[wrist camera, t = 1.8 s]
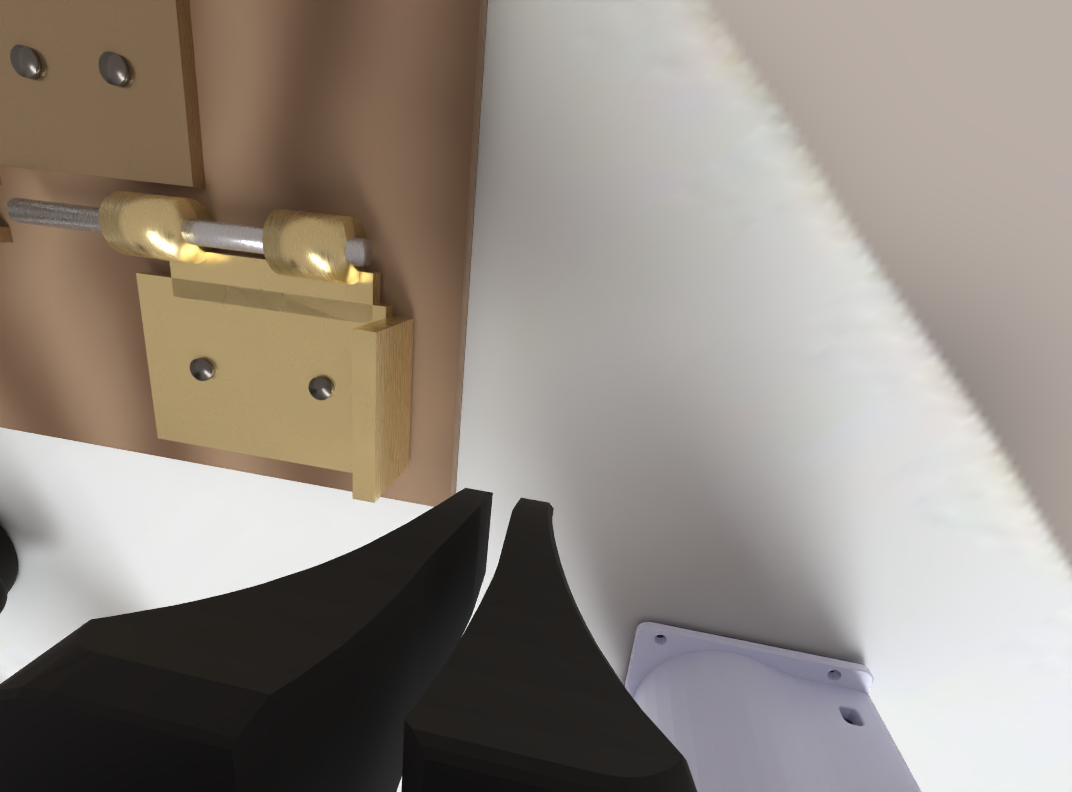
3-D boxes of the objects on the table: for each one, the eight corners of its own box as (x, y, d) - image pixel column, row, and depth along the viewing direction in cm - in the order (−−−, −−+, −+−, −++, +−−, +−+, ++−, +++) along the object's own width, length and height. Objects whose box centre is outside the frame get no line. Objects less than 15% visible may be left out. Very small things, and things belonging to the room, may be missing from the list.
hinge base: (-49, 234, 21) (-145, 233, 18) (-117, -57, 18) (-245, -108, 15) (212, 268, 20) (149, 273, 17) (185, -41, 17) (103, -95, 14)
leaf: (88, 418, 22) (10, 444, 19) (46, 181, 19) (-52, 171, 16) (408, 475, 21) (374, 512, 18) (416, 224, 18) (377, 220, 15)
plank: (492, -71, 16) (485, -87, 15) (455, 500, 22) (449, 509, 21) (-167, -98, 19) (-200, -112, 18) (-37, 411, 25) (-58, 416, 24)
